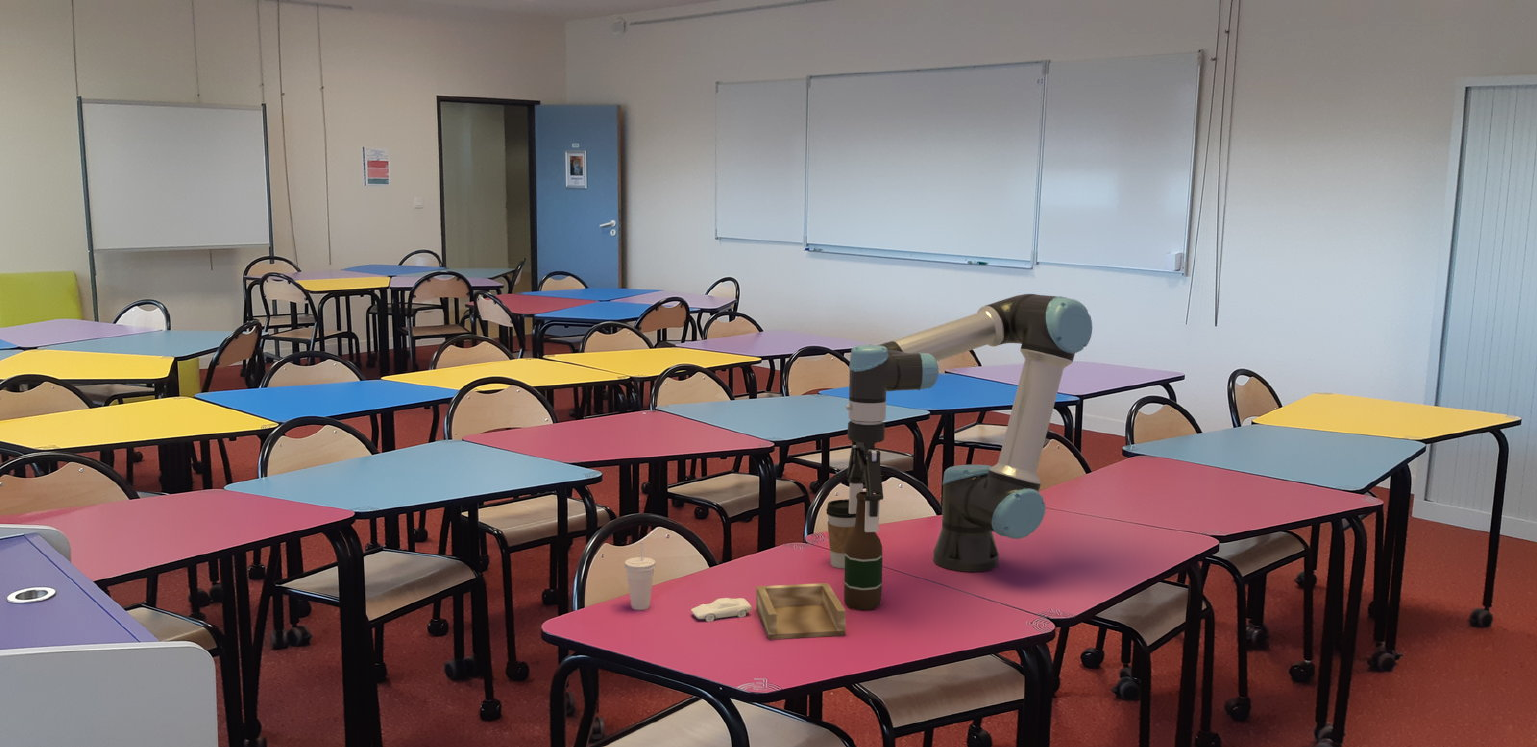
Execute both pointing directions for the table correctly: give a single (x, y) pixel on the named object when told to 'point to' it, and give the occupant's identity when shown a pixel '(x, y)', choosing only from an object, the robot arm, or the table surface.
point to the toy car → (722, 609)
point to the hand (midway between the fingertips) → (863, 522)
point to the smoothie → (640, 580)
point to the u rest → (800, 611)
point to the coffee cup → (839, 530)
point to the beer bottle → (862, 564)
